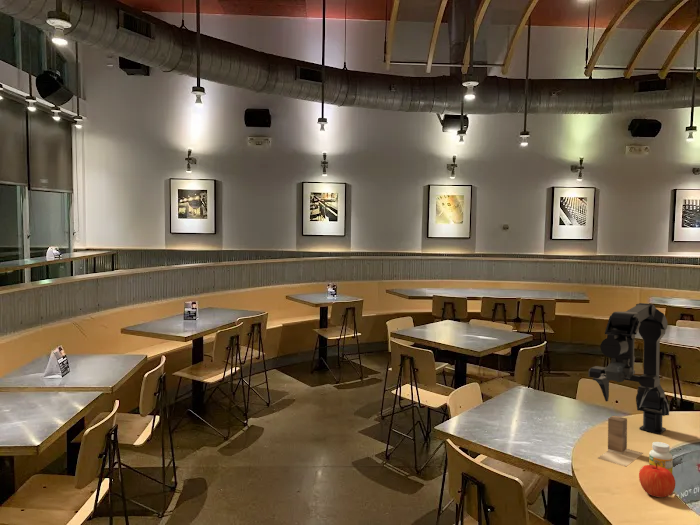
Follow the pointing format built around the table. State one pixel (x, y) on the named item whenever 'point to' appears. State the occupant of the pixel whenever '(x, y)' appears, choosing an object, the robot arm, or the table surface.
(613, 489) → the table surface
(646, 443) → the table surface
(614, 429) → the walnut block
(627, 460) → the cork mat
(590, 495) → the table surface
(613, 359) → the robot arm
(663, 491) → the apple
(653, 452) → the supplement bottle
